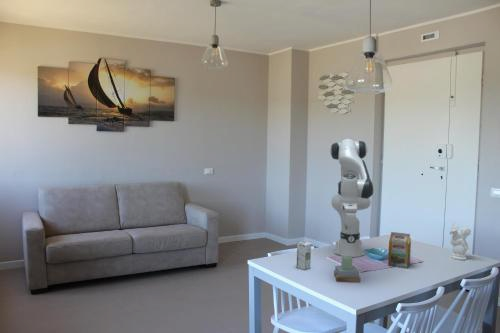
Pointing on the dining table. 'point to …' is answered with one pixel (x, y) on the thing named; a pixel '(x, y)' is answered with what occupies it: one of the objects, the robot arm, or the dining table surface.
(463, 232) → the white squirrel figurine
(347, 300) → the dining table surface
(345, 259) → the sage block
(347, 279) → the walnut base slab
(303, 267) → the syrup box
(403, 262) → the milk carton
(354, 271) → the grey top slab
